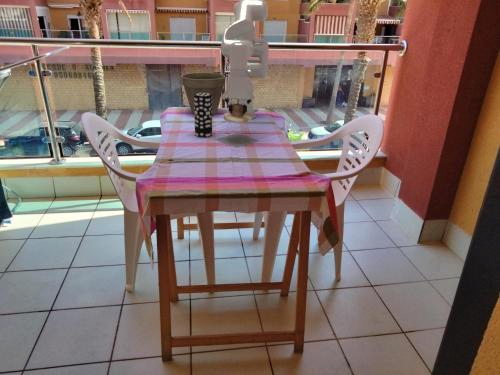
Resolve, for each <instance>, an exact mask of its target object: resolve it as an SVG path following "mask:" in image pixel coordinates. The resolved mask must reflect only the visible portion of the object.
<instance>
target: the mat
mask: <svg viewBox="0 0 500 375" xmlns="http://www.w3.org/2000/svg"><path fill="white" fill-rule="evenodd" d="M214 140H215V141H218V142H220V143H223V144H226V145H227V146H228V145H229V146H231V147H233V148H239V147H244V146H247V145H250V144H253V143H256V142H260V140H258V139H256V138H253V137H250V136H248V135H244V134H242V133H238V132H237V133H234V134H230V135H227V136H222V137H217V138H214Z"/></svg>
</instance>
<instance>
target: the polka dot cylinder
mask: <svg viewBox="0 0 500 375" xmlns="http://www.w3.org/2000/svg"><path fill="white" fill-rule="evenodd" d="M193 115H194V136H195V137H196V138H201V139H202V138H210V137H212V136H213V115H212V94H210V93H195V94H194V114H193Z"/></svg>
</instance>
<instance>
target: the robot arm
mask: <svg viewBox="0 0 500 375" xmlns="http://www.w3.org/2000/svg"><path fill="white" fill-rule="evenodd" d="M233 14H234V22H233V23H231V24H230V25H229V26H228V27H226V29H225V30H224V31H223V34H222V38H221V44H220V51H221V52H220V53H221V54H222V56H223V57H225V58H229V74H228V75H227V80H226V81H227V82H226V90H225V91H224V92H222V94H221V98H220V99H222V100H223V101H224V102H225V103H226V104H227V106H228V112H230V114H232V104H233V102H232V101H233V100H236V104H237V103H239V104H242V105H244V114H245V113H248V114H251V115H252V119H251V120H253V119H255V118H256V114H255V113H257V112H259V108H254V99H255V98H256V96H255V95H254V94H255V86H254V83H253V81H252V80H251V79H265V78H267V76H268V70H269V47H270V46H269V42H268V41H267V39H264V38H256V27H255V24H254V22H265V21H266V20H267V19H268V15H269V6H268V3H267V2H266V0H239V1H238V2H236V3H234V5H233ZM236 38H238V39H236ZM249 58H258V59H249Z"/></svg>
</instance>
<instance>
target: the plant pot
mask: <svg viewBox="0 0 500 375" xmlns="http://www.w3.org/2000/svg"><path fill="white" fill-rule="evenodd" d="M180 77H181V78H180V79H181V85H182V86H183V89H184V92H185V95H186V99H187V101H188V104H189V108H190V112H191V113H192V115H194V94H195V93H210V94H212V116H214V115H216V114H217V113H218V109H219V107H220V106H219V105H220V102H221V99H222V98H221V95H222V94H223V89H224V86H225V85H226V75H225V74H222V73H217V72H216V73H215V72H189V73H184V74H181V75H180Z"/></svg>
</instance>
